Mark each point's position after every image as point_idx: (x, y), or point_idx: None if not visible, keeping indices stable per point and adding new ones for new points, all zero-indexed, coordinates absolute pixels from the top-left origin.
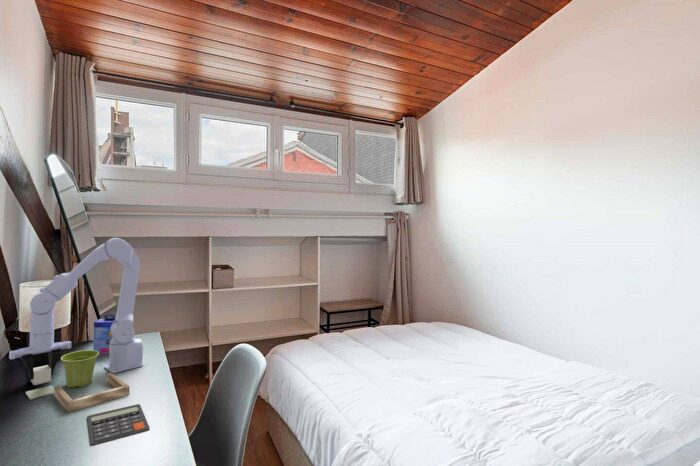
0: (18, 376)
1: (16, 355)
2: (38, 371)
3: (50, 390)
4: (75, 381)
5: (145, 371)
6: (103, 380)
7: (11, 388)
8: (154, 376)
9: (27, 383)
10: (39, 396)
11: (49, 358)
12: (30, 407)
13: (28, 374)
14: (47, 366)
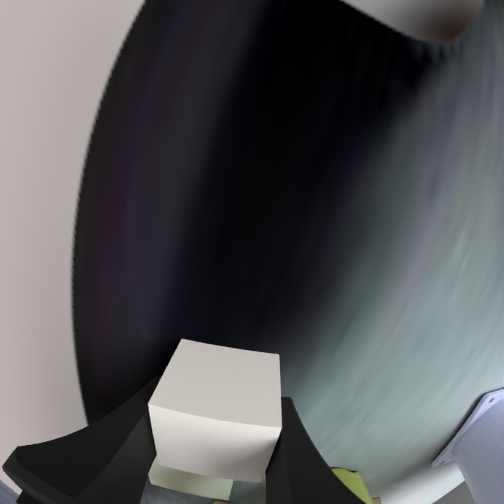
0: (150, 151)
1: (2, 499)
2: (183, 469)
3: (214, 488)
4: None
5: (458, 472)
6: (373, 490)
7: (93, 353)
8: (429, 499)
9: (159, 355)
10: (176, 489)
11: (283, 501)
12: (151, 497)
13: (142, 391)
14: (262, 449)
